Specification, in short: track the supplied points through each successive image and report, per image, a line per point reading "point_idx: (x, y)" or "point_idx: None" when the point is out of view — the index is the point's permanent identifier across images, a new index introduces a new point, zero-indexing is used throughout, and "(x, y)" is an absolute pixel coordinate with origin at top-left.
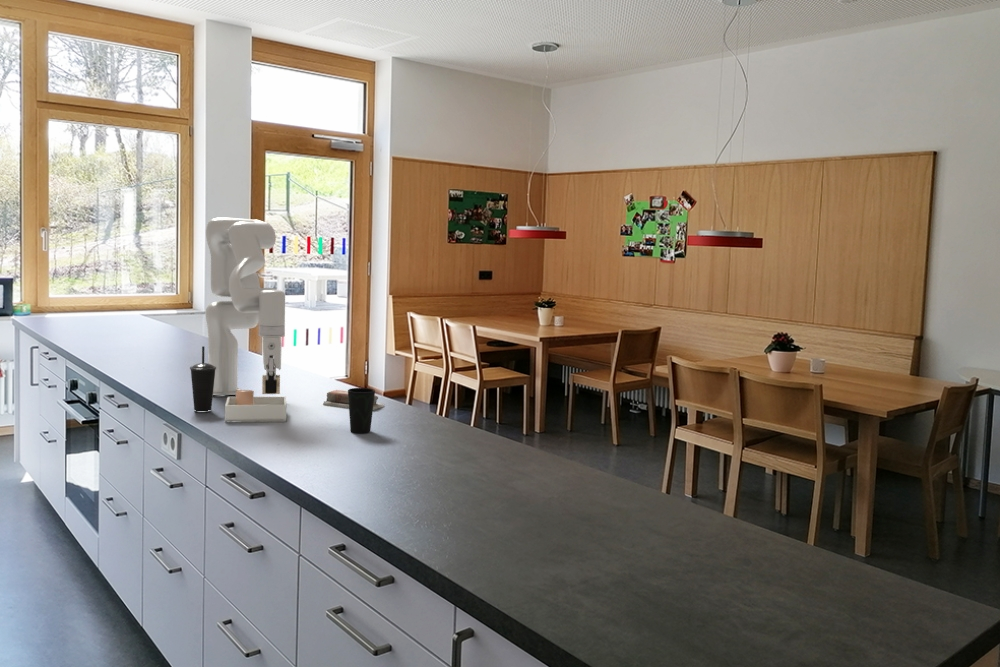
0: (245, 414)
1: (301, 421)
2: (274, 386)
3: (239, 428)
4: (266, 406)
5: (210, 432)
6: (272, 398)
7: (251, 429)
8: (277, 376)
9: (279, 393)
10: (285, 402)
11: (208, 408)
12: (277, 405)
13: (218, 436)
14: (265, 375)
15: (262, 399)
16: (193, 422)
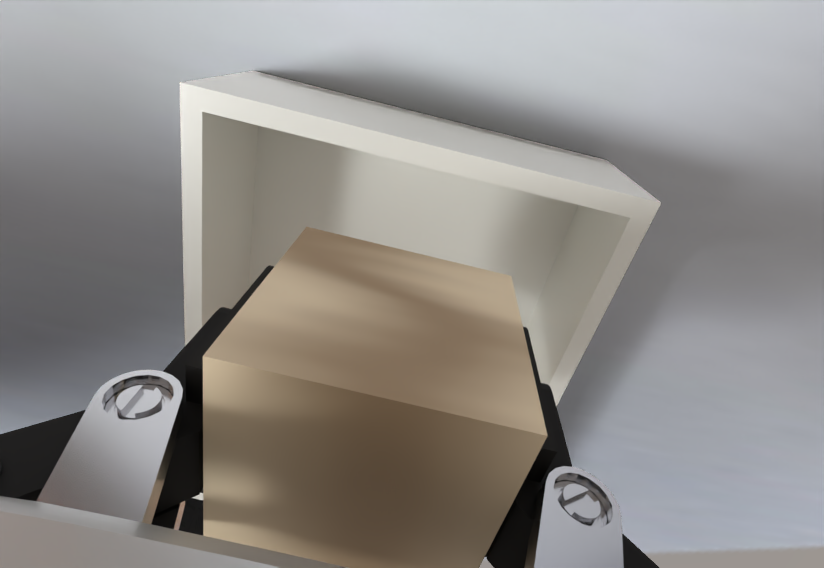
0: None
1: (655, 23)
2: None
3: (645, 443)
4: (575, 356)
5: (657, 545)
6: (208, 223)
7: (706, 402)
8: (414, 441)
9: (512, 281)
10: (520, 177)
11: None
12: (617, 281)
13: (757, 538)
14: (267, 545)
15: (213, 298)
16: None
